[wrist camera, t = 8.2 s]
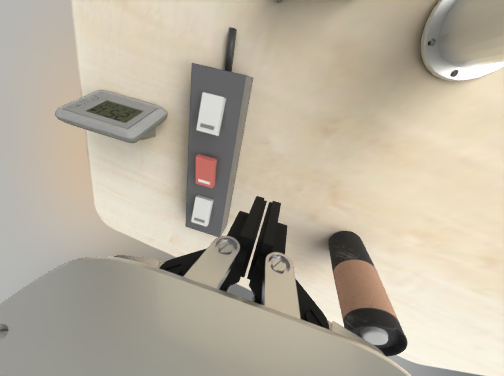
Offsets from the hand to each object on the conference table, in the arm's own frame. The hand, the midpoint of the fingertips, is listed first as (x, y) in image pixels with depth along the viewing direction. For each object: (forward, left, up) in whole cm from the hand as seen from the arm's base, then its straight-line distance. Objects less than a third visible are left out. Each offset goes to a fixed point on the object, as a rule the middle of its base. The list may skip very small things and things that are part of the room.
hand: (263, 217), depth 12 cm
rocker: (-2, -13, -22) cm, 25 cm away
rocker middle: (+9, -13, -22) cm, 27 cm away
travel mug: (+20, +20, -27) cm, 39 cm away
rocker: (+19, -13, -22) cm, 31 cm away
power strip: (+6, -13, -27) cm, 30 cm away
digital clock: (+3, -33, -27) cm, 43 cm away
